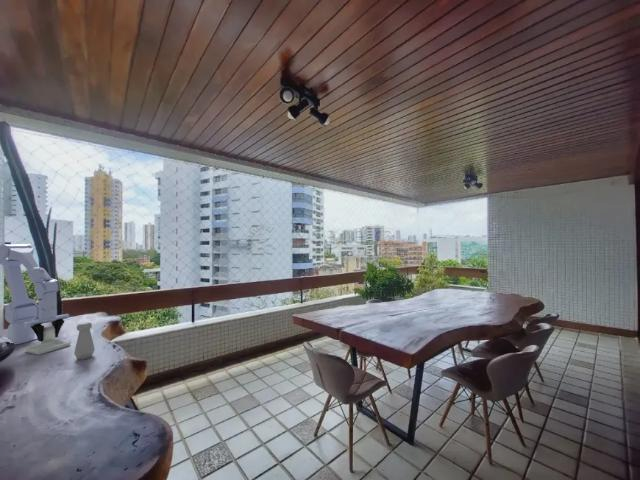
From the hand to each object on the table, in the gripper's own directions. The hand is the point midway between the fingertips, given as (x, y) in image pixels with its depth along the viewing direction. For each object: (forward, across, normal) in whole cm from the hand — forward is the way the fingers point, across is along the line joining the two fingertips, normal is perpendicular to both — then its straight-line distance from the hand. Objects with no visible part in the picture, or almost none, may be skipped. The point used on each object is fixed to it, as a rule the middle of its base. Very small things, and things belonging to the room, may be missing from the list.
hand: (48, 339), depth 121 cm
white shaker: (+2, 0, 0) cm, 2 cm away
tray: (+2, -4, -9) cm, 10 cm away
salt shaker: (+2, -5, -35) cm, 35 cm away
